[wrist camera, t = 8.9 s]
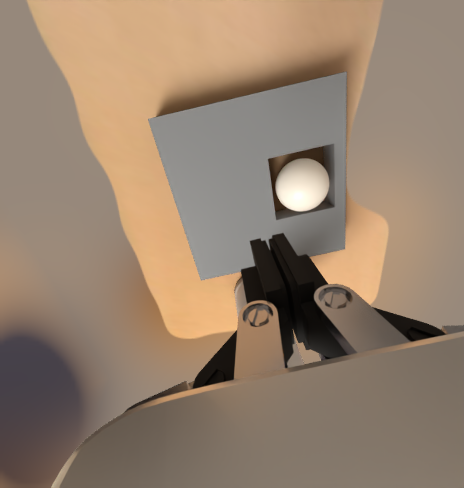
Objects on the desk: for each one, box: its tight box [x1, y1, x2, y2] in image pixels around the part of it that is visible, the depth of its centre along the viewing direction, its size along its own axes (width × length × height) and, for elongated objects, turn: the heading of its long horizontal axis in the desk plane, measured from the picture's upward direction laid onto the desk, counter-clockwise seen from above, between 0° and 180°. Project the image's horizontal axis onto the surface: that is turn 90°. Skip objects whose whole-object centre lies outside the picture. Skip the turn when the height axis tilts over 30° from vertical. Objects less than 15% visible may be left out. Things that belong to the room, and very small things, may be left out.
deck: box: [148, 72, 347, 280], centre depth 29 cm, size 20×20×3 cm
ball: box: [276, 158, 329, 211], centre depth 28 cm, size 6×6×6 cm
